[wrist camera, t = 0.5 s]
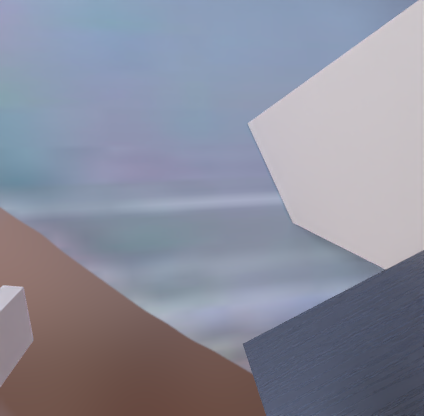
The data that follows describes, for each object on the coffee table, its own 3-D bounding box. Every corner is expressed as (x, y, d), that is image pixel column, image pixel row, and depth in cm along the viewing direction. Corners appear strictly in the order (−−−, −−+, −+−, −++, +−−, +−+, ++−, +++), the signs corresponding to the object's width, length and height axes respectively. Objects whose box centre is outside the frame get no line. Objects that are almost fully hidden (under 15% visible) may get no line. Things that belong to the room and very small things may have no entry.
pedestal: (292, 222, 38) (691, 423, 8) (247, 123, 35) (571, -110, 6) (400, 167, 38) (1159, 165, 8) (362, 65, 36) (1223, -433, 6)
